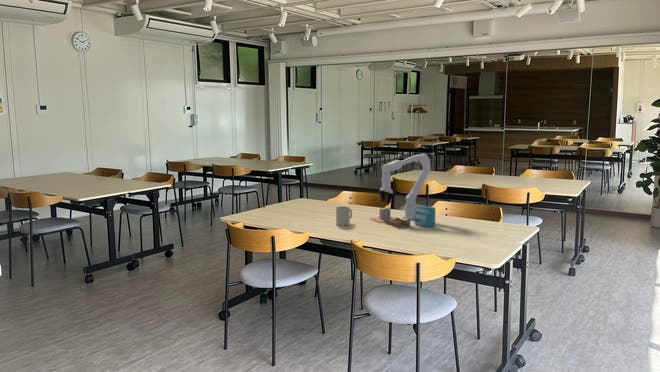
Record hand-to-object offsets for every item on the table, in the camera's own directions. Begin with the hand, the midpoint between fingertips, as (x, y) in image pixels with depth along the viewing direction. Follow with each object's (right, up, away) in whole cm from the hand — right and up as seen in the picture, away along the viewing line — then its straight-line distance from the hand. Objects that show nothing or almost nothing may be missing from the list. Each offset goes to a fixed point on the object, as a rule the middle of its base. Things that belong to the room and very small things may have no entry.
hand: (386, 202), depth 348 cm
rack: (+4, -13, -19) cm, 24 cm away
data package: (+21, -14, -24) cm, 35 cm away
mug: (-28, -14, -16) cm, 35 cm away
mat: (-1, -11, -6) cm, 13 cm away
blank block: (-1, -11, -6) cm, 12 cm away
